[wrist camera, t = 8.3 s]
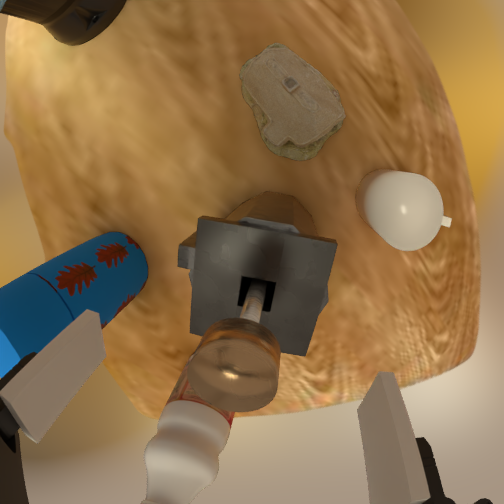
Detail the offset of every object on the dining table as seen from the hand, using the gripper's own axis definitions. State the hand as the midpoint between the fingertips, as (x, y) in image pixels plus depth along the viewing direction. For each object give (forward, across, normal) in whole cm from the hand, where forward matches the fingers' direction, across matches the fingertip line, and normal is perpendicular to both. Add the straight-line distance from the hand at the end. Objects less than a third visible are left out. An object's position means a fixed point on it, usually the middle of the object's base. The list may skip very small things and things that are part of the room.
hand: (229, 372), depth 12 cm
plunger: (+18, 0, -1) cm, 18 cm away
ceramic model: (+26, 0, +16) cm, 30 cm away
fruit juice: (+25, -5, -25) cm, 36 cm away
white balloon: (+25, +15, +6) cm, 30 cm away
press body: (+25, -1, -1) cm, 25 cm away
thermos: (+26, -22, -10) cm, 35 cm away
